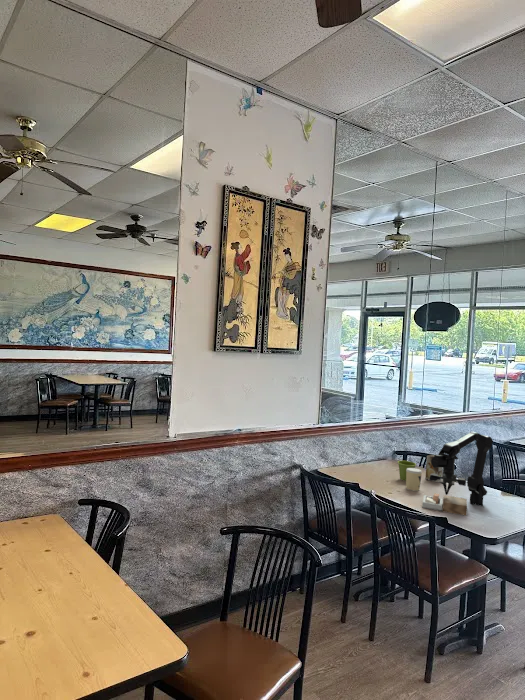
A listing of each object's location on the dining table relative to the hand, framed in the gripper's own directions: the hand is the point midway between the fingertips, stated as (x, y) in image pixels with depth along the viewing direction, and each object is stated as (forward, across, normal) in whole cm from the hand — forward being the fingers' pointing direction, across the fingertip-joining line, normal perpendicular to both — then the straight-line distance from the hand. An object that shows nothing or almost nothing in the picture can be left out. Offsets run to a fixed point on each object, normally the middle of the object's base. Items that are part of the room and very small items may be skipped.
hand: (446, 494), depth 273 cm
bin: (+6, -7, -3) cm, 10 cm away
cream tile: (+3, -8, -6) cm, 10 cm away
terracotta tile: (+3, -4, -1) cm, 5 cm away
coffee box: (+7, -8, +54) cm, 55 cm away
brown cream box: (+6, +4, -3) cm, 9 cm away
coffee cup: (+7, -20, +24) cm, 31 cm away
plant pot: (+7, -26, +42) cm, 50 cm away
